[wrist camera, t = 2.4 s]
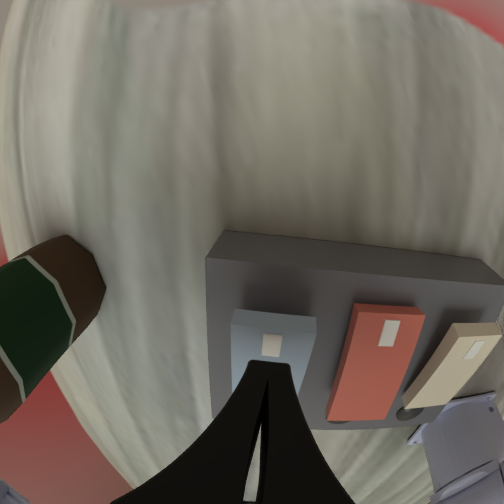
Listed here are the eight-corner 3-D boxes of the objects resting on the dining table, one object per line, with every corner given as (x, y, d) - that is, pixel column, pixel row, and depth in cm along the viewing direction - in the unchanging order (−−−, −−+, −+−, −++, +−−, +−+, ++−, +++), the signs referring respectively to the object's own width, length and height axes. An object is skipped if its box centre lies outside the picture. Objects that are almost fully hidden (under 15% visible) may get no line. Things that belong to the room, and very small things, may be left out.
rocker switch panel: (480, 259, 15) (512, 287, 12) (421, 389, 20) (433, 424, 17) (223, 230, 17) (204, 258, 13) (222, 381, 22) (211, 420, 18)
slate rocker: (316, 316, 12) (316, 335, 11) (293, 395, 16) (292, 410, 15) (234, 308, 13) (229, 326, 12) (235, 389, 16) (232, 404, 15)
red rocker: (418, 307, 13) (426, 316, 12) (380, 408, 14) (384, 420, 13) (354, 303, 13) (359, 312, 12) (325, 409, 15) (327, 421, 14)
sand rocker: (495, 322, 11) (503, 336, 10) (443, 392, 15) (446, 405, 14) (452, 323, 12) (459, 338, 11) (401, 396, 15) (404, 410, 14)
